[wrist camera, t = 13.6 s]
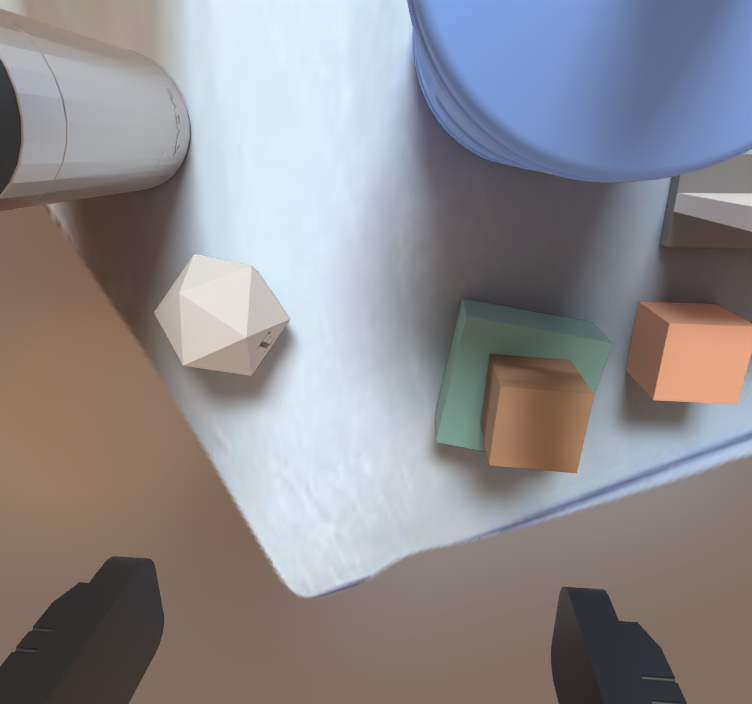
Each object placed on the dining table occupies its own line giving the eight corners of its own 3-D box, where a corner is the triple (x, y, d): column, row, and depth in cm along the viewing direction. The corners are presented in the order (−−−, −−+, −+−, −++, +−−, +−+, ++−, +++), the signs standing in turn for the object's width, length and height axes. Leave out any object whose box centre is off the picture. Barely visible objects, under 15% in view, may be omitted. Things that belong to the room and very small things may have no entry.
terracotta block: (625, 369, 42) (653, 400, 37) (638, 301, 40) (669, 323, 35) (698, 372, 42) (737, 404, 36) (715, 303, 40) (758, 326, 35)
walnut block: (480, 423, 39) (488, 465, 34) (489, 353, 37) (500, 386, 32) (556, 430, 39) (576, 473, 34) (570, 359, 37) (594, 394, 32)
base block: (434, 411, 45) (436, 442, 40) (461, 296, 41) (466, 315, 37) (553, 434, 45) (568, 467, 40) (591, 321, 41) (612, 343, 36)
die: (219, 363, 46) (261, 413, 38) (124, 314, 40) (152, 360, 33) (274, 283, 46) (327, 317, 38) (186, 222, 40) (228, 248, 33)
